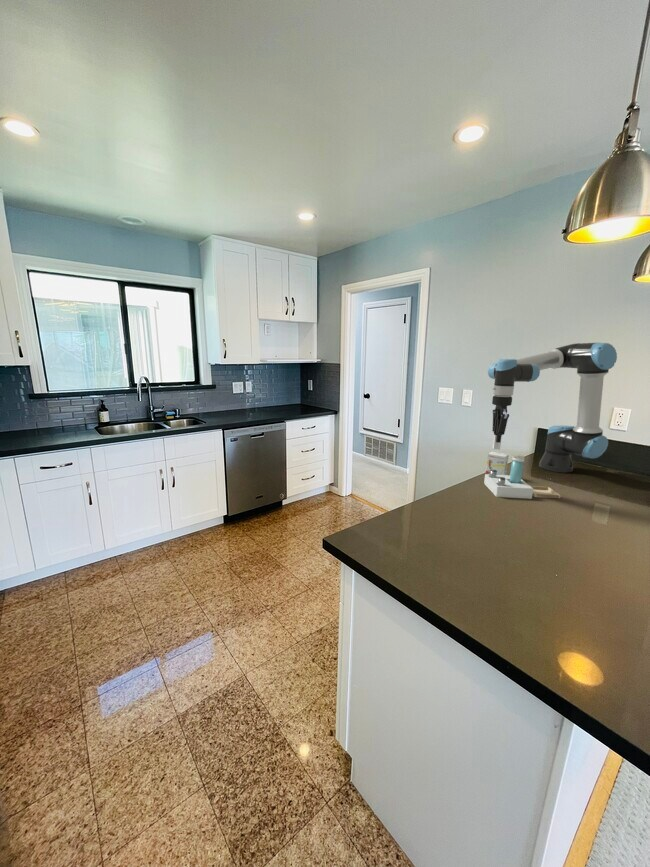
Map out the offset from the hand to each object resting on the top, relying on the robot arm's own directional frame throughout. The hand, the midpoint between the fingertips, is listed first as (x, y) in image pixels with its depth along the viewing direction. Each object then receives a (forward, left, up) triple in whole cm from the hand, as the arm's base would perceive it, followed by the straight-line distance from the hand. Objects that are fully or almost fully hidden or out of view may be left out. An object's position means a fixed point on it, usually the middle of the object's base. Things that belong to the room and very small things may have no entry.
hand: (496, 448), depth 155 cm
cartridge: (+5, +8, -17) cm, 20 cm away
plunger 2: (+10, 0, -15) cm, 18 cm away
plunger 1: (0, 0, -15) cm, 15 cm away
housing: (+5, +5, -18) cm, 19 cm away
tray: (+6, +19, -18) cm, 26 cm away
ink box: (-15, +7, -18) cm, 25 cm away
